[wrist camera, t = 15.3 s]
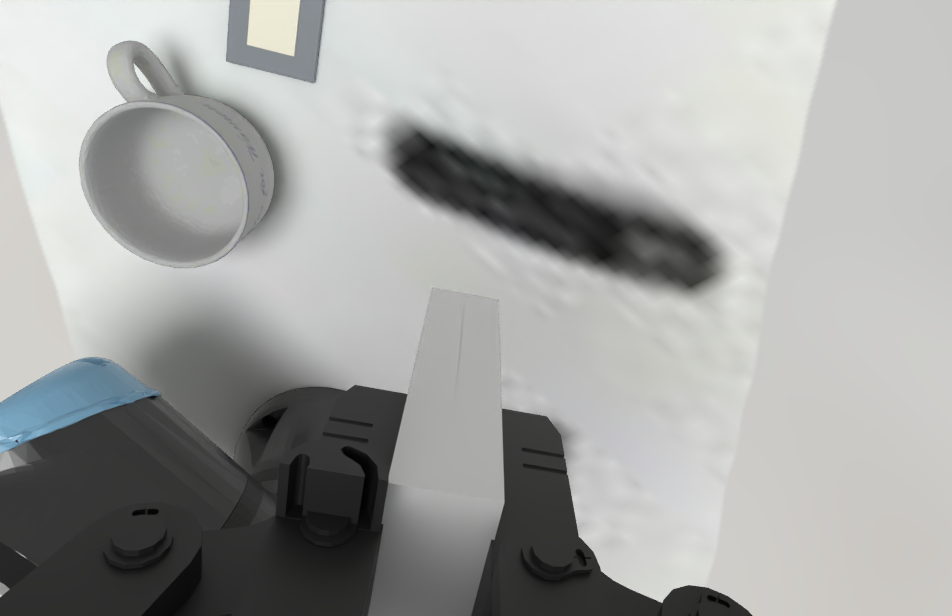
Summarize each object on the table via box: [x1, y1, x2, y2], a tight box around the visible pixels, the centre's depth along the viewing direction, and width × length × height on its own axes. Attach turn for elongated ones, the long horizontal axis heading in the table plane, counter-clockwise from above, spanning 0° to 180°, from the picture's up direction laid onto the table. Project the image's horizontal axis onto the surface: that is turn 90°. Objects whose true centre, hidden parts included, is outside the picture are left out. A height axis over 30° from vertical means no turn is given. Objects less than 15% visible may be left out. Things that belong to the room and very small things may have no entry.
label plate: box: [226, 0, 325, 83], centre depth 41 cm, size 8×6×1 cm
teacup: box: [79, 41, 274, 268], centre depth 42 cm, size 14×11×8 cm
